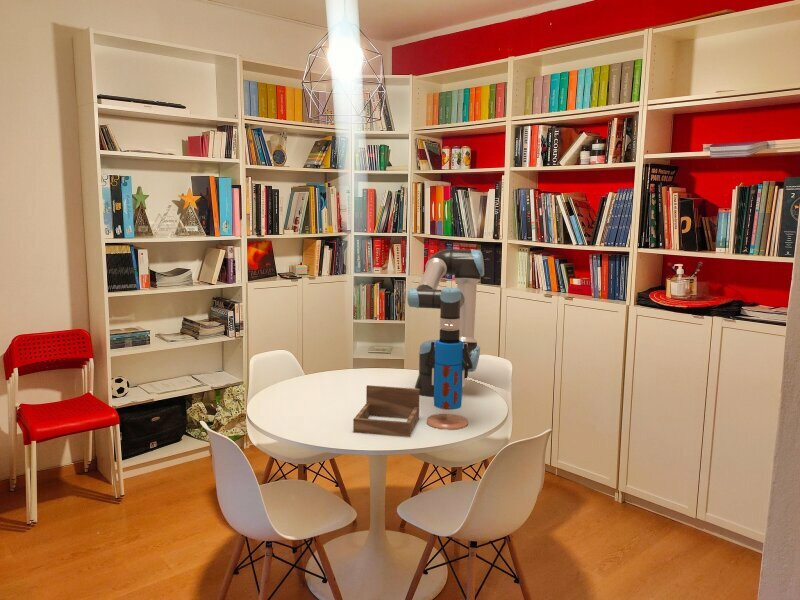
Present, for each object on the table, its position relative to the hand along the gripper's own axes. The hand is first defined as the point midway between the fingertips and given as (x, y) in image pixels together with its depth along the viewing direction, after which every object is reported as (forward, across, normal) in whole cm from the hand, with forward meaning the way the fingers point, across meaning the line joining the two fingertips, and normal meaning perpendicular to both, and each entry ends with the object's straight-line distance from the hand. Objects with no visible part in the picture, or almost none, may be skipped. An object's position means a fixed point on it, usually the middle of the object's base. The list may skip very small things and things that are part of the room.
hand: (448, 385), depth 246 cm
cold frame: (+15, -22, -8) cm, 28 cm away
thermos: (+8, 0, 0) cm, 8 cm away
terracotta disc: (+15, 0, 0) cm, 15 cm away
